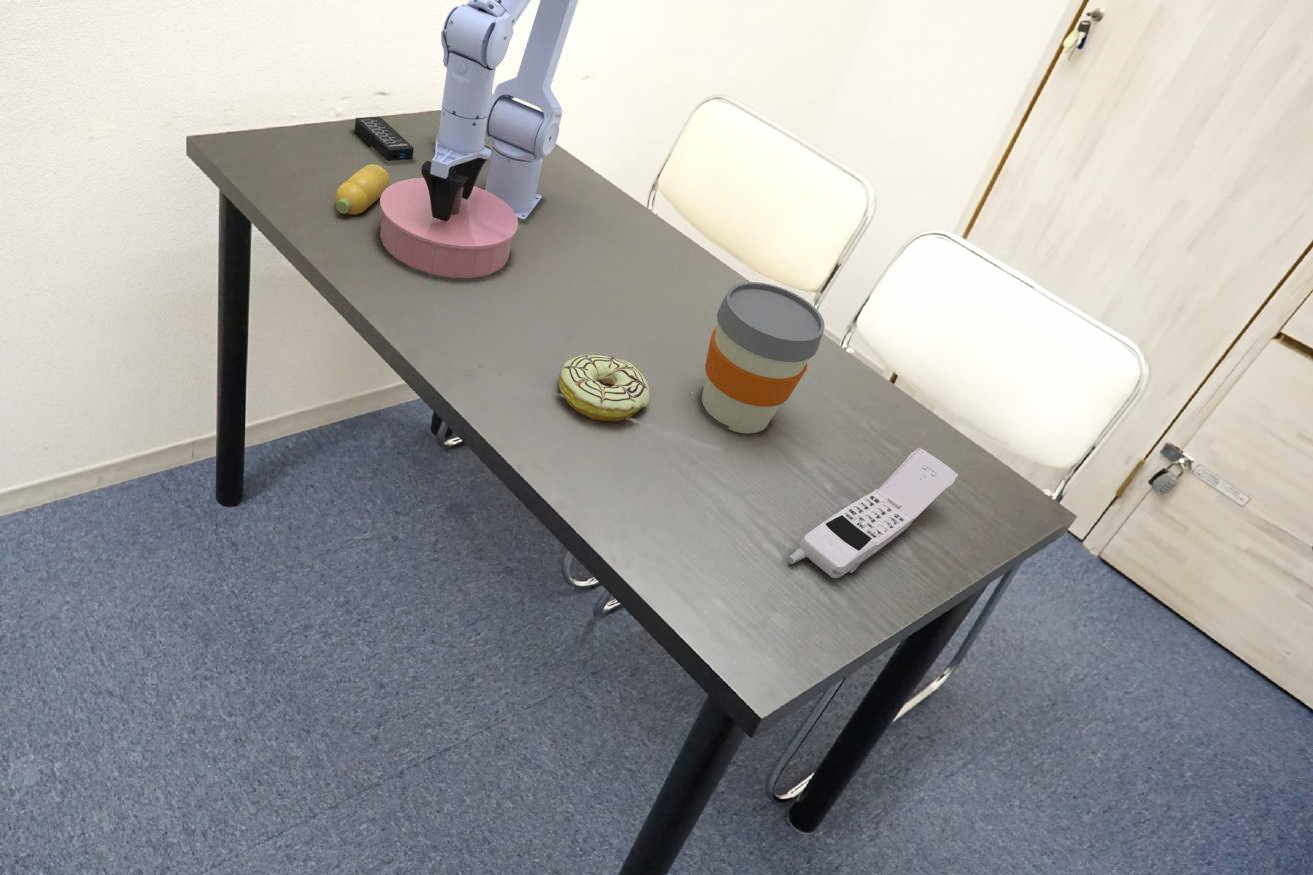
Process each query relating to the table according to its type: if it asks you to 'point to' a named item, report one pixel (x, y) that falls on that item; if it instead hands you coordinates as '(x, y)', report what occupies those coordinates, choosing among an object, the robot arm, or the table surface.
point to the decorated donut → (603, 387)
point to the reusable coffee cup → (758, 354)
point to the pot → (442, 255)
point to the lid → (468, 226)
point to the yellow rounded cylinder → (361, 190)
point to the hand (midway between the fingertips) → (451, 207)
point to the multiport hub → (383, 138)
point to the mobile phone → (876, 516)
